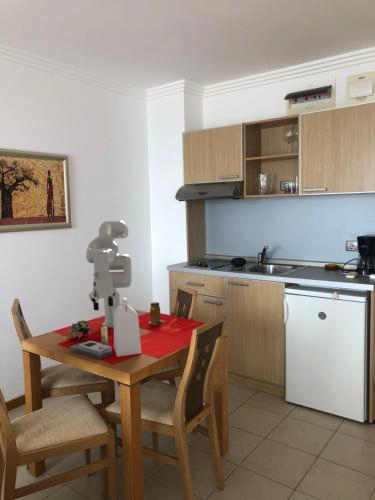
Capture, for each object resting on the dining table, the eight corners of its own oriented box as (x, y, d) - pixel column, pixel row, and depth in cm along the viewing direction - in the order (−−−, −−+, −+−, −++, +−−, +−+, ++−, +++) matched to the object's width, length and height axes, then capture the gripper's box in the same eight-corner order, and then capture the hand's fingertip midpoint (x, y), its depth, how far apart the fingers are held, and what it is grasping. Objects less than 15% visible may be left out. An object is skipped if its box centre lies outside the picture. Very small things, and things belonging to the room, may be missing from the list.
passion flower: (84, 345, 229) (97, 326, 229) (78, 348, 218) (91, 329, 219) (68, 333, 230) (80, 315, 230) (61, 336, 219) (74, 317, 219)
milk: (141, 353, 199) (138, 300, 196) (117, 356, 196) (114, 302, 193) (137, 345, 210) (134, 295, 207) (114, 348, 207) (111, 297, 204)
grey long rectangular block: (70, 350, 206) (69, 341, 205) (82, 345, 212) (82, 337, 211) (99, 359, 192) (99, 350, 192) (111, 354, 198) (111, 345, 198)
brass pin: (100, 344, 214) (99, 327, 213) (106, 342, 215) (105, 325, 214) (103, 345, 211) (102, 328, 210) (109, 344, 213) (108, 327, 212)
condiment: (147, 322, 250) (147, 303, 249) (159, 319, 255) (158, 300, 254) (154, 325, 244) (153, 305, 243) (166, 322, 249) (165, 302, 248)
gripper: (93, 277, 200) (95, 312, 202) (119, 272, 214) (121, 305, 216) (83, 276, 205) (85, 310, 206) (109, 272, 218) (111, 303, 220)
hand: (103, 308), depth 211 cm, fingers open, 9 cm apart
